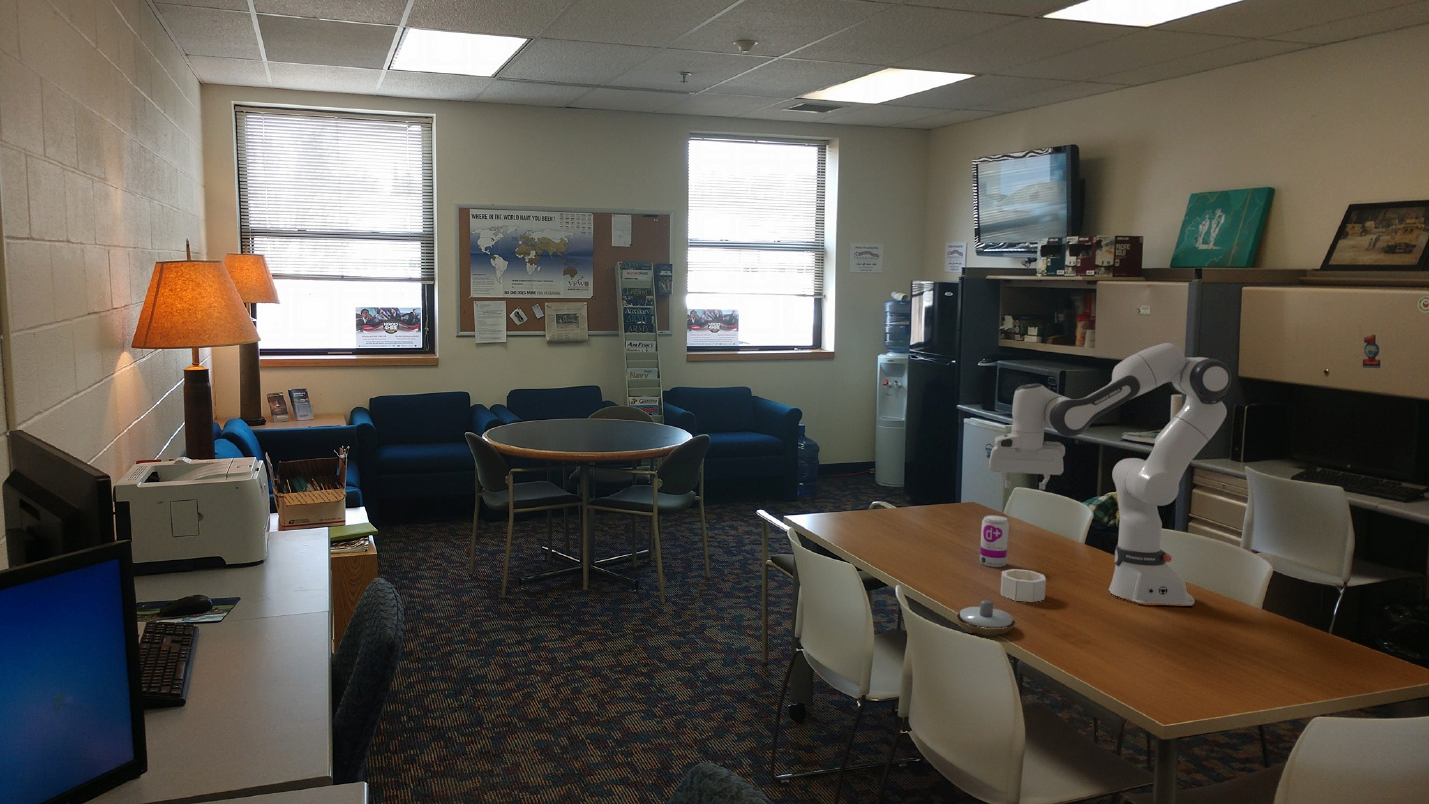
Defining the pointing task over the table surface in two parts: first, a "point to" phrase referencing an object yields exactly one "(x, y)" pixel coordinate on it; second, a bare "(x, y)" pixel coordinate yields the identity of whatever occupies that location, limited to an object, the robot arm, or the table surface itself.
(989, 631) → the plant saucer
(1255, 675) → the table surface
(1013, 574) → the bowl
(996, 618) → the lid
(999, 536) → the supplement can
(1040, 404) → the robot arm
